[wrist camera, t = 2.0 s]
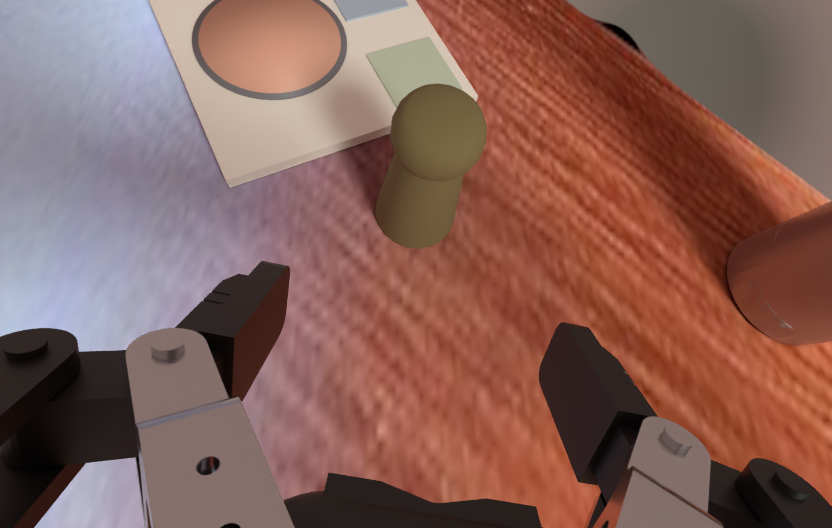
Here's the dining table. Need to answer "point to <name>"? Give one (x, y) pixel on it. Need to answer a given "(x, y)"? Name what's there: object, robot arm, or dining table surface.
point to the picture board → (299, 74)
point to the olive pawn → (428, 163)
